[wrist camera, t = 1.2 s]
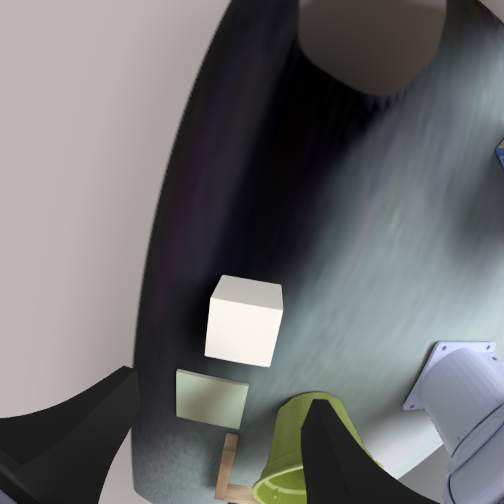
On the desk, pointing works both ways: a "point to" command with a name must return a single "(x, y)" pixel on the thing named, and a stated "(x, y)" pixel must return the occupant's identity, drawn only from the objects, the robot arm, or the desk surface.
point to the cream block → (244, 321)
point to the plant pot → (293, 452)
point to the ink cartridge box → (501, 152)
